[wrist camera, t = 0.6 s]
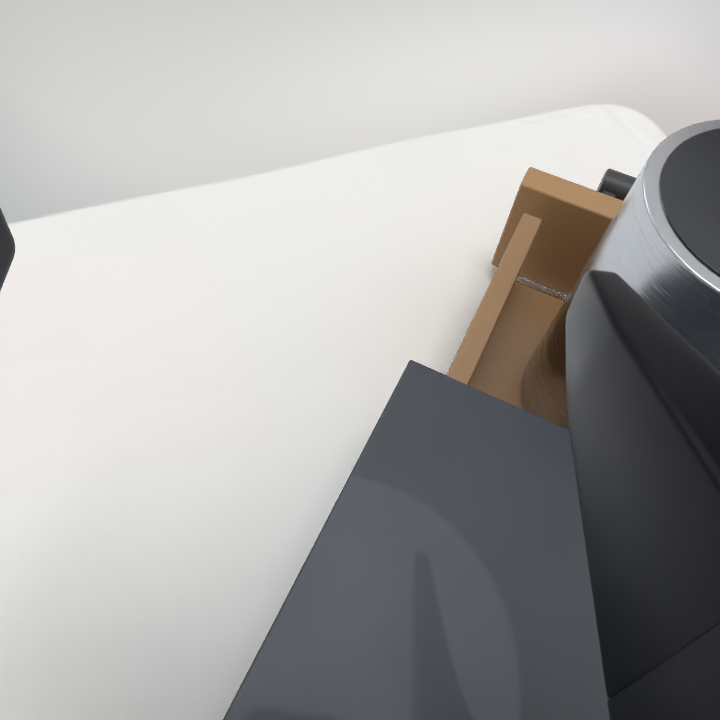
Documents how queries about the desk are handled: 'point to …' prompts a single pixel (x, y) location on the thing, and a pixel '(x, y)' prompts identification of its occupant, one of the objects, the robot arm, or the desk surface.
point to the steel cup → (652, 259)
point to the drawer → (534, 275)
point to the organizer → (441, 577)
